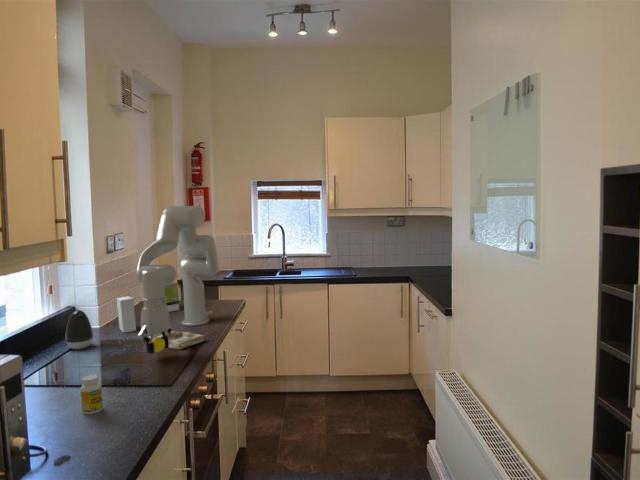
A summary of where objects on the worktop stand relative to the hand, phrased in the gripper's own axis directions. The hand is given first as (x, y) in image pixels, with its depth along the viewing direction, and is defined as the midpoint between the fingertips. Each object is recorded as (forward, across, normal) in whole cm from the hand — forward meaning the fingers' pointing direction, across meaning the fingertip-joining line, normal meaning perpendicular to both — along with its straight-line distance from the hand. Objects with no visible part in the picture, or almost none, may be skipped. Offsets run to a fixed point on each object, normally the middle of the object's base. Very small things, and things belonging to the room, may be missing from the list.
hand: (158, 349), depth 186 cm
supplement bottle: (+2, +40, +22) cm, 45 cm away
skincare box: (+5, -19, -46) cm, 50 cm away
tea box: (+6, -51, -61) cm, 80 cm away
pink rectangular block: (+4, -19, -16) cm, 25 cm away
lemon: (+1, 0, 0) cm, 1 cm away
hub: (+4, -16, -22) cm, 28 cm away
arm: (+4, -16, -10) cm, 19 cm away
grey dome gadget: (+4, +7, -40) cm, 40 cm away
